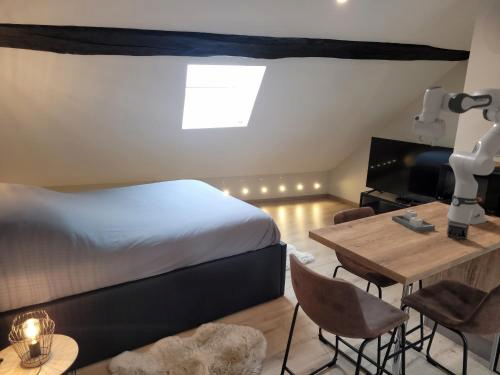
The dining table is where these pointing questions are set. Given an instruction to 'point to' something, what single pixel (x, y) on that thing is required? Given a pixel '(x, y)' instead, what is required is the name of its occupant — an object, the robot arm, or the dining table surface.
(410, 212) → the white cube-shaped block
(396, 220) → the switch board
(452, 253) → the dining table surface
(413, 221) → the white sliding block
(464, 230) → the electrical switch
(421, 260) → the dining table surface
